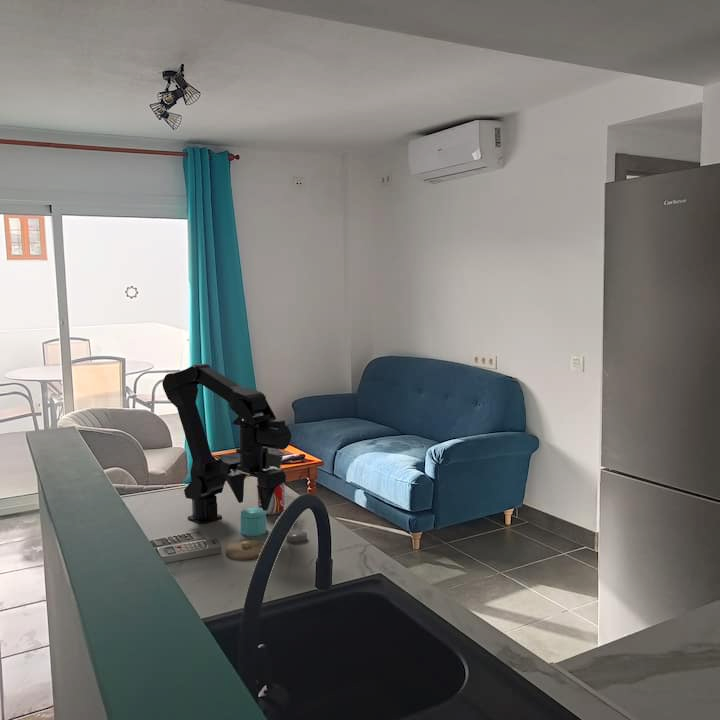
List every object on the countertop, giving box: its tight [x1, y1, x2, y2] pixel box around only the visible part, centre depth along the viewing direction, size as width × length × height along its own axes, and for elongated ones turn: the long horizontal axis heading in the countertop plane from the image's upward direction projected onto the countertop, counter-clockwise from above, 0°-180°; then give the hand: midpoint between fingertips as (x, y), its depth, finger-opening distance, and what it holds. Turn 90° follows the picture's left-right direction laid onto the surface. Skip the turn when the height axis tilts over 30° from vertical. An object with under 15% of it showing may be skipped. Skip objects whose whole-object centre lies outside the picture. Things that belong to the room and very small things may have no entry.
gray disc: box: [285, 530, 308, 544], centre depth 171 cm, size 5×5×2 cm
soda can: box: [256, 466, 285, 516], centre depth 191 cm, size 7×7×12 cm
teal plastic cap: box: [240, 507, 267, 537], centre depth 176 cm, size 6×6×5 cm
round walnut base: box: [225, 539, 265, 561], centre depth 163 cm, size 9×9×2 cm
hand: (252, 506), depth 176 cm, fingers open, 9 cm apart
